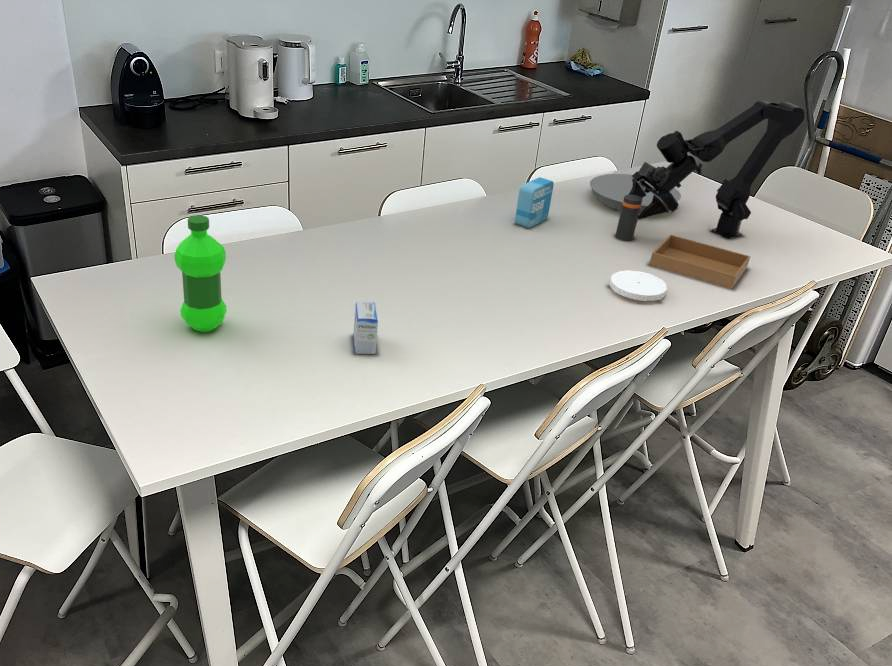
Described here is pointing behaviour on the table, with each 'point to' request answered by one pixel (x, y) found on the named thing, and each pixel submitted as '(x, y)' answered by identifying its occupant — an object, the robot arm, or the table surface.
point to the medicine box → (365, 328)
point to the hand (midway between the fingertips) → (630, 212)
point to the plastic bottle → (201, 276)
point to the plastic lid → (638, 285)
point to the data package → (534, 202)
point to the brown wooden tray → (700, 261)
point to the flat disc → (620, 190)
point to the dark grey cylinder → (628, 217)
